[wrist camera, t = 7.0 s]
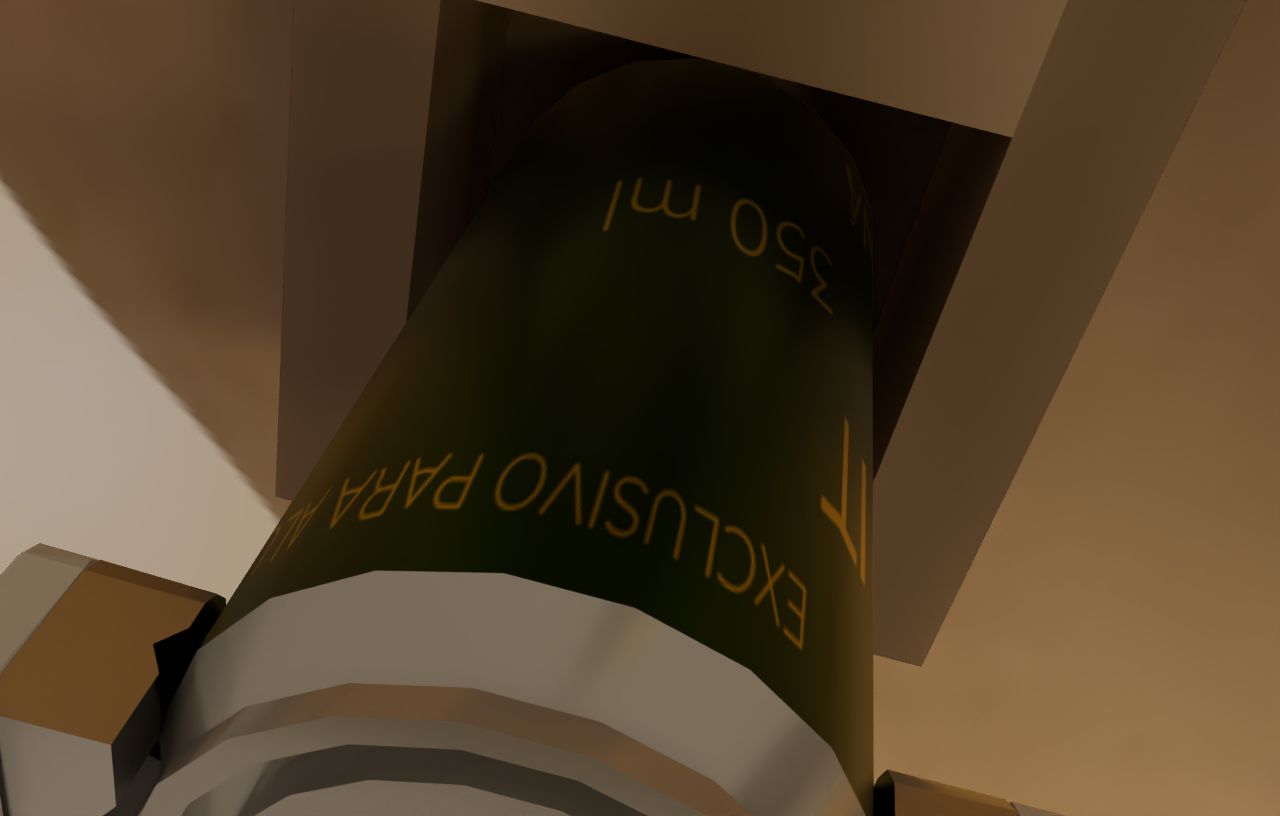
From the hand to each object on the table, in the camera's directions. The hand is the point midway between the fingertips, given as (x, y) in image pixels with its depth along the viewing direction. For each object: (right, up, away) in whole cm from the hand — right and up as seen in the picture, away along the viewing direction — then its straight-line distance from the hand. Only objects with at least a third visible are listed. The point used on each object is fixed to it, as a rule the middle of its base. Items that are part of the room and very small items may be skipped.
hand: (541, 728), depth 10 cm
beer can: (+2, +5, +8) cm, 10 cm away
